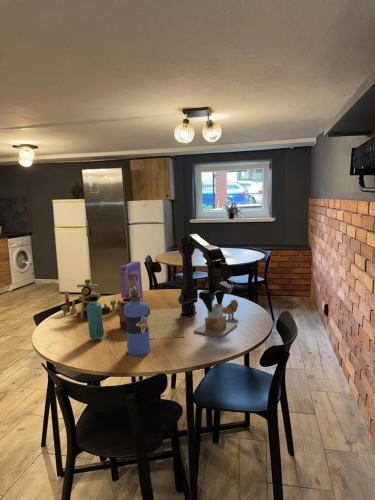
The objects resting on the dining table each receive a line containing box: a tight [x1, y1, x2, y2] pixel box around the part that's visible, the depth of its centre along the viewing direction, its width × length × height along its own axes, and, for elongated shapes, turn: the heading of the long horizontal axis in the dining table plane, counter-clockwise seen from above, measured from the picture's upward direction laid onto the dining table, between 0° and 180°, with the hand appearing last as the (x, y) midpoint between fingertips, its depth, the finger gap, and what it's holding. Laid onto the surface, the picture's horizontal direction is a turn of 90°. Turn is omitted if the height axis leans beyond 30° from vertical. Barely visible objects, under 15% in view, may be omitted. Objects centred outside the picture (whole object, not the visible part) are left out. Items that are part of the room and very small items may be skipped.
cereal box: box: [118, 261, 144, 301], centre depth 202 cm, size 17×5×24 cm, turn 162°
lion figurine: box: [223, 299, 239, 320], centre depth 168 cm, size 15×5×9 cm, turn 116°
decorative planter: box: [114, 297, 151, 331], centre depth 163 cm, size 20×12×14 cm, turn 66°
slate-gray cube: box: [207, 303, 224, 319], centre depth 155 cm, size 5×5×5 cm
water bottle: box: [124, 290, 151, 357], centre depth 135 cm, size 9×9×25 cm
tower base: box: [193, 314, 238, 339], centre depth 156 cm, size 14×16×6 cm
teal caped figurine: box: [87, 295, 105, 340], centre depth 149 cm, size 6×7×20 cm
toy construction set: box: [61, 278, 117, 321], centre depth 187 cm, size 27×22×21 cm
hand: (215, 309), depth 155 cm, fingers open, 9 cm apart
